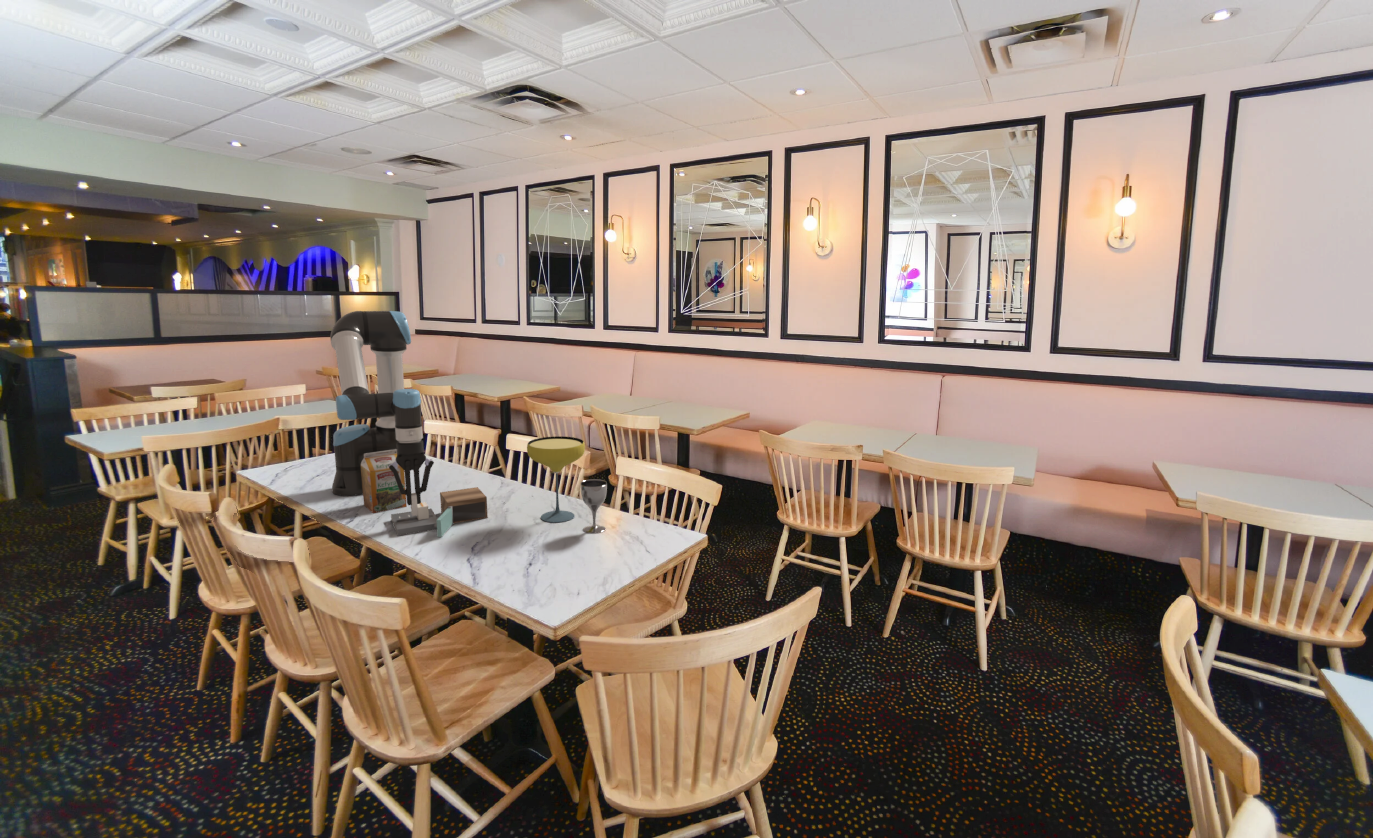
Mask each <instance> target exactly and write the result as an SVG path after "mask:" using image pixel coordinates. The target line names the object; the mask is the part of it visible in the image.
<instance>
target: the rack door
mask: <svg viewBox="0 0 1373 838" xmlns="http://www.w3.org/2000/svg"><path fill="white" fill-rule="evenodd" d="M437 518H438V519H437V523H435V525H434V527H435V528H437V530H436V532H437V534H436V535H437V536H436V537H437V538H443V536H444V535H445V534H446V533H447V531H448V530H449V529H450V528H451V527H452V526H453V525H454V523H453V509H452V506H448V508H447V509H446V510H445V512H444V513H443V514H442V513H441V514H440V516H438V517H437Z"/></svg>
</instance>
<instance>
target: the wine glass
mask: <svg viewBox="0 0 1373 838" xmlns="http://www.w3.org/2000/svg"><path fill="white" fill-rule="evenodd" d="M607 489H608V483H607V481H606V480H603V479H595V478H594V479H593V478H592V479H586V480H583V481H581V482H580V493H581V499H582V502H584V504H585V505H586V506H587V507H588V508H589V510H590V512H591V515H592V525H587V526H584V527H583V529H582V531H583V532H584V533H586V534H589V535H591V534H592V535H595V534H602V533H605V531H606V530H607V529H606V528H607V527H605V526H604V525H599V524H596V523H597V522H596V521H597V520H596V518H597V512H598V510H599V508H600V507H601V506H602V504H603V503H604V502H605V501H606V500H605V499H606V498H607V493H608V490H607ZM605 529H606V530H605ZM604 530H605V531H604ZM601 532H602V533H601Z"/></svg>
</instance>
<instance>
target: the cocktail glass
mask: <svg viewBox="0 0 1373 838" xmlns="http://www.w3.org/2000/svg"><path fill="white" fill-rule="evenodd" d="M585 445H586V444H585V442H584V440H583V439H581V438H578V437H575V436H574V437H572V436H546V437H545V436H544V437H539V438H534V439H531V440H530V441H528V442H527V444H526V452H527V455H528V457H529V458H530V459H531V460H533V461H534V462H536V463H538V464H541V465H543V466H545V467H547V468H549V469H550V470H551V472H552V473H554V474H555V491H556V492H555V499H556V500H555V510H550V511H547V512H544V513H543V514H542V515H541V516H540V519H541V520H542V521H543V522H547V523H551V524H552V523H553V524H554V523H555V524H556V523H557V524H558V523H559V524H560V523H566V522H569V521H572V520H573V519H574V518H575V514H574V513H573V512H572V511H569V510H560V503H559V502H560V501H559V473H560V472H562V471H563V469H564V467H566V466H569V465H571V464H572V463H574V462H576V461H577V460H580V458H581V457H582V456H584V454H585V451H586V450H585V449H586V446H585Z"/></svg>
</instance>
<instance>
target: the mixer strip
mask: <svg viewBox="0 0 1373 838" xmlns="http://www.w3.org/2000/svg"><path fill="white" fill-rule="evenodd" d="M428 511H429V518H428V519H422V520H418V518H417V516H413V515H412V513H411V510H410V511H404V512H399V513H398V512H397V513H392V514H390V518H391V522H392V526H393V527H394V529H395V532H396V534H397V537H399V536H406V535H412V534H419V533H424V532H431V531H435V530H436V531H437V528H435V527H434V525H435V523H437V519H438V518H439V517H437V515H436V514H435V512H434V511H433V509H432V508H428Z"/></svg>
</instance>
